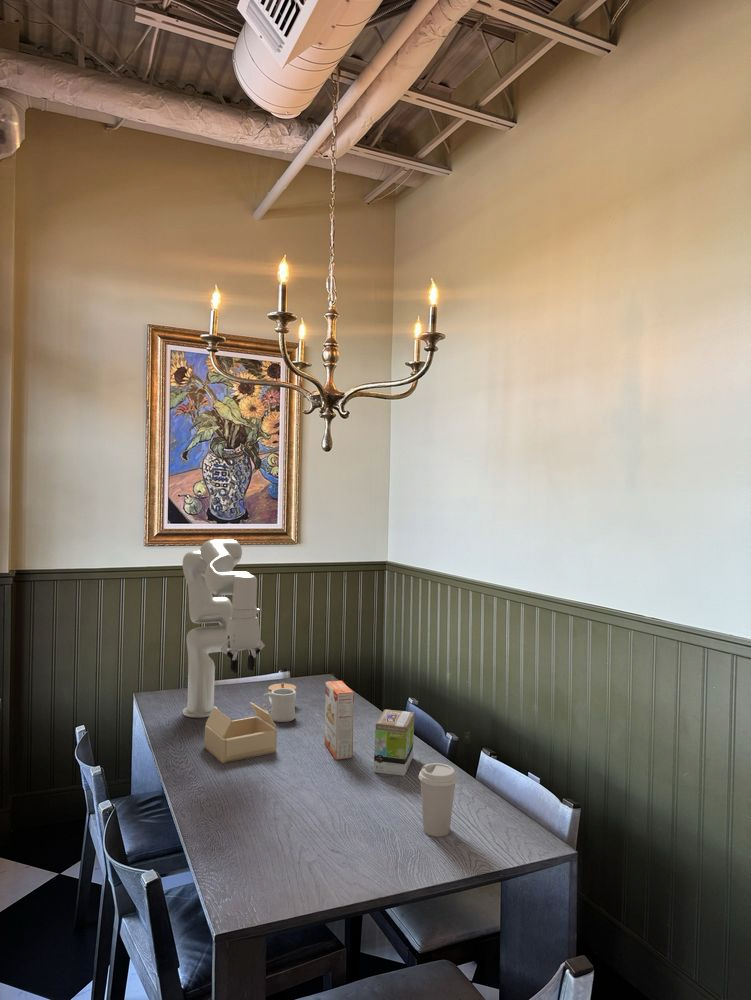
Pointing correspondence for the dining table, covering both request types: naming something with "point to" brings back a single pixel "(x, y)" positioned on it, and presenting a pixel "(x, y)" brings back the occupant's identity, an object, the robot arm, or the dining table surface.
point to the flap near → (218, 722)
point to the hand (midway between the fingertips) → (242, 670)
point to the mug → (281, 704)
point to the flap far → (263, 714)
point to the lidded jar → (282, 685)
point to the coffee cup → (437, 797)
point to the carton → (242, 740)
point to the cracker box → (339, 719)
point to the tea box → (394, 742)
